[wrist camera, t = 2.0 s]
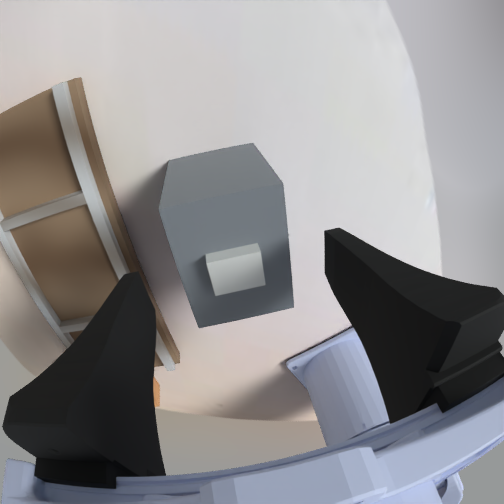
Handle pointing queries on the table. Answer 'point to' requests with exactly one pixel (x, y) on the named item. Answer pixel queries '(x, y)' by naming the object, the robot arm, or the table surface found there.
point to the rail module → (228, 234)
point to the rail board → (65, 214)
